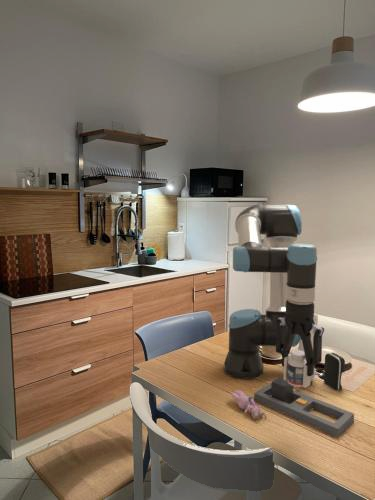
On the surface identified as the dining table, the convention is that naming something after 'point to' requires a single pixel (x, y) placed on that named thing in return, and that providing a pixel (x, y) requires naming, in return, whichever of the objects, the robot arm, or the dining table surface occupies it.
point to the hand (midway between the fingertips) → (296, 381)
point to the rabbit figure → (248, 404)
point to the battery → (333, 370)
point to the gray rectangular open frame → (303, 407)
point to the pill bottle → (296, 368)
